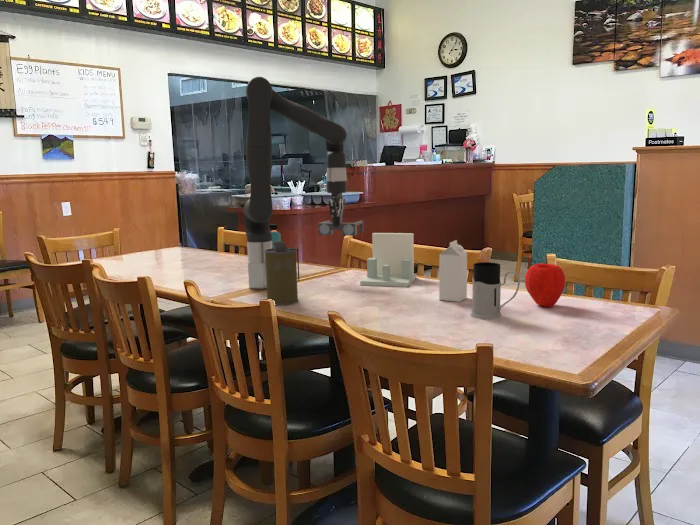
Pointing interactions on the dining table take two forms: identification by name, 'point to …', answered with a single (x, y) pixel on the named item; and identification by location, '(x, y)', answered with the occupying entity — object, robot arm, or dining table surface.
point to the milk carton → (453, 273)
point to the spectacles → (339, 227)
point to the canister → (282, 274)
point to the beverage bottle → (275, 234)
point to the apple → (545, 283)
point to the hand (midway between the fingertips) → (337, 225)
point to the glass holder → (488, 290)
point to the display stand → (391, 260)
